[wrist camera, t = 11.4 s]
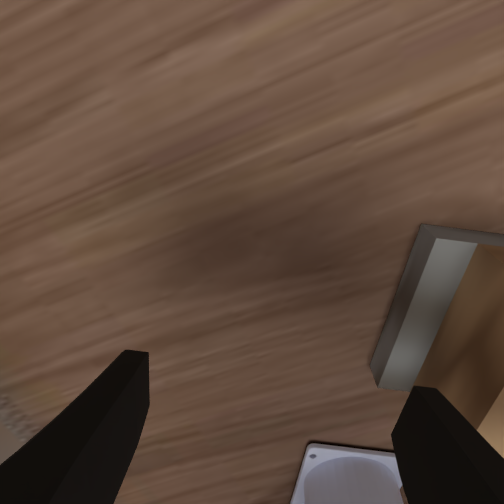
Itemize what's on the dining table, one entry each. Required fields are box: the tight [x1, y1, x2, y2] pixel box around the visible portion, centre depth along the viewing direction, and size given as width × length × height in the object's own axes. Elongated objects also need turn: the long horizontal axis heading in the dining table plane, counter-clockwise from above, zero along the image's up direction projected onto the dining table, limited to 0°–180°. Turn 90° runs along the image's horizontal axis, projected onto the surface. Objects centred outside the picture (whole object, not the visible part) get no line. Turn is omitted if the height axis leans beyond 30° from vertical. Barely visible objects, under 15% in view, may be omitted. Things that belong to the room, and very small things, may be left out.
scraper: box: [370, 224, 504, 458], centre depth 17 cm, size 10×7×7 cm
